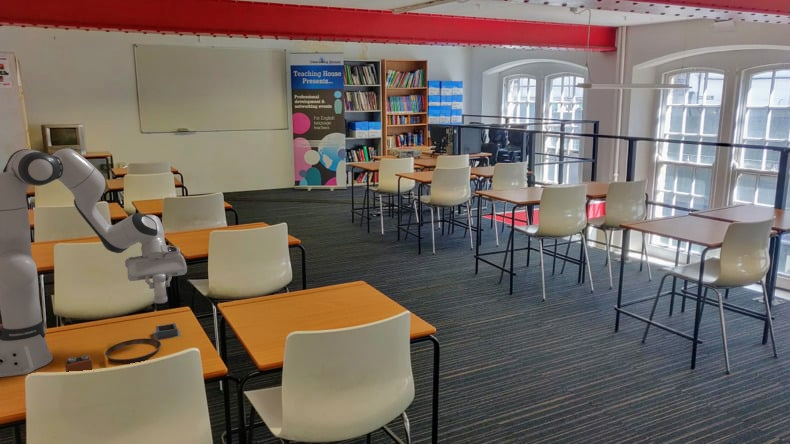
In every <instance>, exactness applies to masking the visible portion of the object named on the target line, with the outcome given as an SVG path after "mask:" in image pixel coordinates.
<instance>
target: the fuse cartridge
mask: <svg viewBox="0 0 790 444" xmlns="http://www.w3.org/2000/svg"><path fill="white" fill-rule="evenodd" d="M166 279H167V277H166V276H165V274H164V273H161V274H154V275H152V279H151V280H152V282H153V283H154V288H153V293H154V296H153V300H154V304H165V303H167V302H168V295H167V289H166V288H167V287H166V285H165V281H167V280H166Z"/></svg>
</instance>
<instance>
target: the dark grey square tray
mask: <svg viewBox="0 0 790 444" xmlns="http://www.w3.org/2000/svg"><path fill="white" fill-rule="evenodd" d="M152 334H153V339H156V340H158V341H162V340H166V339H174V338H179V337H182V334H181V332H180V329H179V328H178V327H177V325H176V323H175V322H174V323H167V324H162V325H156V326H155V331H153V332H152Z"/></svg>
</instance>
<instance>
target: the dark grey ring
mask: <svg viewBox="0 0 790 444" xmlns="http://www.w3.org/2000/svg"><path fill="white" fill-rule="evenodd" d="M137 344H140V345H141V344H150V345H154V346H156V347H157V349H156V350H154V351H151V352H150V353H148V354H145V355H141V356H137V357H133V358H124V359H122V358H111V357H110V354H111V353H113V352H114V351H116V350H118V349H120V348H123V347H127V346H132V345H137ZM161 347H162V342H161V340H156V339H155V338H148V337H144V338H134V339H133V338H132V339H130V340H125V341H122V342H119V343H116V344H113V345H112V346H110V347H109V348H108V349H107V350H106V351H105V357H106V358H107V359H108V360H110V361H111V362H115V363H120V364H123V365H131V364H130V363H135V362H139V363H141V362H140V361H143V362H145V360H146V361H147V360H149V359H150V357H153V356H154V355H157V353H158V352H159V351H160V349H161ZM135 364H136V363H135Z"/></svg>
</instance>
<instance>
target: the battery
mask: <svg viewBox="0 0 790 444" xmlns="http://www.w3.org/2000/svg"><path fill="white" fill-rule="evenodd" d="M64 367H65V373H66V372H69V371H83V370H92V369H93V370H94V366H93V360H92V358H91V356H90V355H87V354H85V355H82V356H80V357H70V358H68V359H66V360H65V361H64Z"/></svg>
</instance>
